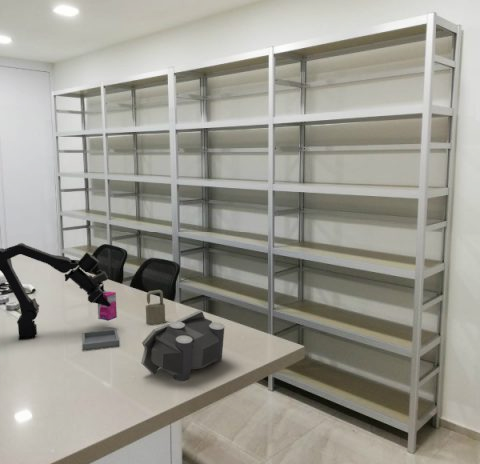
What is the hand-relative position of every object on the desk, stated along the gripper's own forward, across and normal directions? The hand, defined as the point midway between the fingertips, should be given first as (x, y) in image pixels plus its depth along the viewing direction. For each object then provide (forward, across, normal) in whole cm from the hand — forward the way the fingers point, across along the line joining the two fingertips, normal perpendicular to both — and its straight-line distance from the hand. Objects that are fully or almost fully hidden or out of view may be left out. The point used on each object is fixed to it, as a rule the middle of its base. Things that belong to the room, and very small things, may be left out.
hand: (110, 303), depth 220 cm
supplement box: (+4, 0, +6) cm, 7 cm away
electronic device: (+27, -48, -10) cm, 56 cm away
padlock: (+22, +4, -6) cm, 23 cm away
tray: (+5, -15, +11) cm, 20 cm away
